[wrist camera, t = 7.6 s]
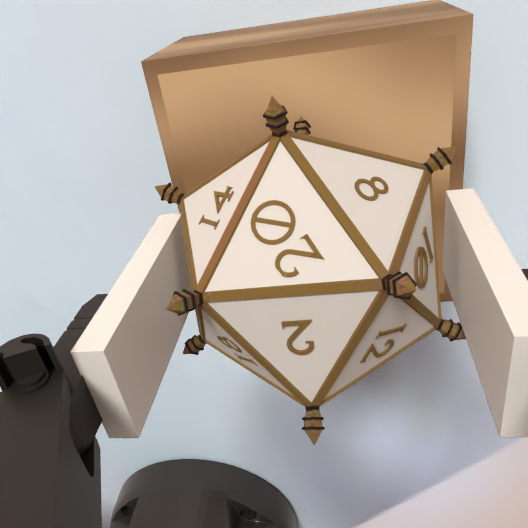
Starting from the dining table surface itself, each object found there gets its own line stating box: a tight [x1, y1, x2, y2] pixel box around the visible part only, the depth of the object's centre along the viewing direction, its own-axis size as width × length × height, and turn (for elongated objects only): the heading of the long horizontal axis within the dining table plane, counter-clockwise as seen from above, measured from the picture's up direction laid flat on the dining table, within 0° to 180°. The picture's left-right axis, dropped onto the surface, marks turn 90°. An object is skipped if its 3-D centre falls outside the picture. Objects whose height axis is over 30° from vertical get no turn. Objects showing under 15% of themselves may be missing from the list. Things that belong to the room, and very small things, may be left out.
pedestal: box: [141, 0, 473, 302], centre depth 22 cm, size 11×11×6 cm
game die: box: [155, 96, 466, 445], centre depth 14 cm, size 9×8×10 cm
